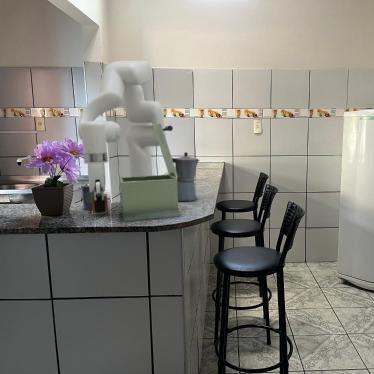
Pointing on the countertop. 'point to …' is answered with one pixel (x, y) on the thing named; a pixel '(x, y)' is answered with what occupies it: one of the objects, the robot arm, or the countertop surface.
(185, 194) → the moka pot
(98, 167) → the robot arm
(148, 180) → the box
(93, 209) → the block
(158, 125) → the breadbox lid
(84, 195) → the flask
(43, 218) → the countertop surface
